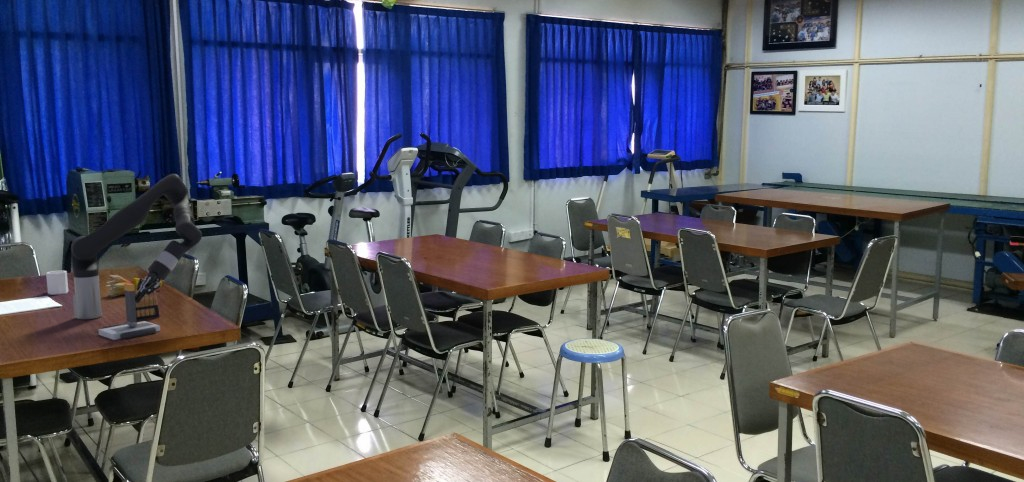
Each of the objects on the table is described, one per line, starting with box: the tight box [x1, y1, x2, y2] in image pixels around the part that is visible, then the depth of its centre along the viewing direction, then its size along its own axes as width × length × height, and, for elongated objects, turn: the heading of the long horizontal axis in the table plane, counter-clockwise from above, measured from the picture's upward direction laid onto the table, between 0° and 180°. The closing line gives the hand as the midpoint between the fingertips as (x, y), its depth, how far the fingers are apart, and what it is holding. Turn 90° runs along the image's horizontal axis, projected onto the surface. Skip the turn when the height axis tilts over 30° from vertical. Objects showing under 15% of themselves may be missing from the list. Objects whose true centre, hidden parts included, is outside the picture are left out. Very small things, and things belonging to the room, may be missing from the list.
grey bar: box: [101, 322, 127, 329], centre depth 343 cm, size 13×2×2 cm, turn 139°
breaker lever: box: [124, 283, 138, 327], centre depth 338 cm, size 2×4×16 cm, turn 49°
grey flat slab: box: [98, 320, 161, 341], centre depth 338 cm, size 18×12×2 cm, turn 139°
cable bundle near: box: [120, 327, 157, 340], centre depth 333 cm, size 13×2×2 cm, turn 139°
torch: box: [106, 274, 163, 298], centre depth 413 cm, size 8×8×25 cm
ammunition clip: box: [135, 289, 160, 321], centre depth 361 cm, size 11×2×12 cm, turn 128°
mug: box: [45, 269, 69, 296], centre depth 416 cm, size 12×9×10 cm
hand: (135, 301), depth 339 cm, fingers closed
